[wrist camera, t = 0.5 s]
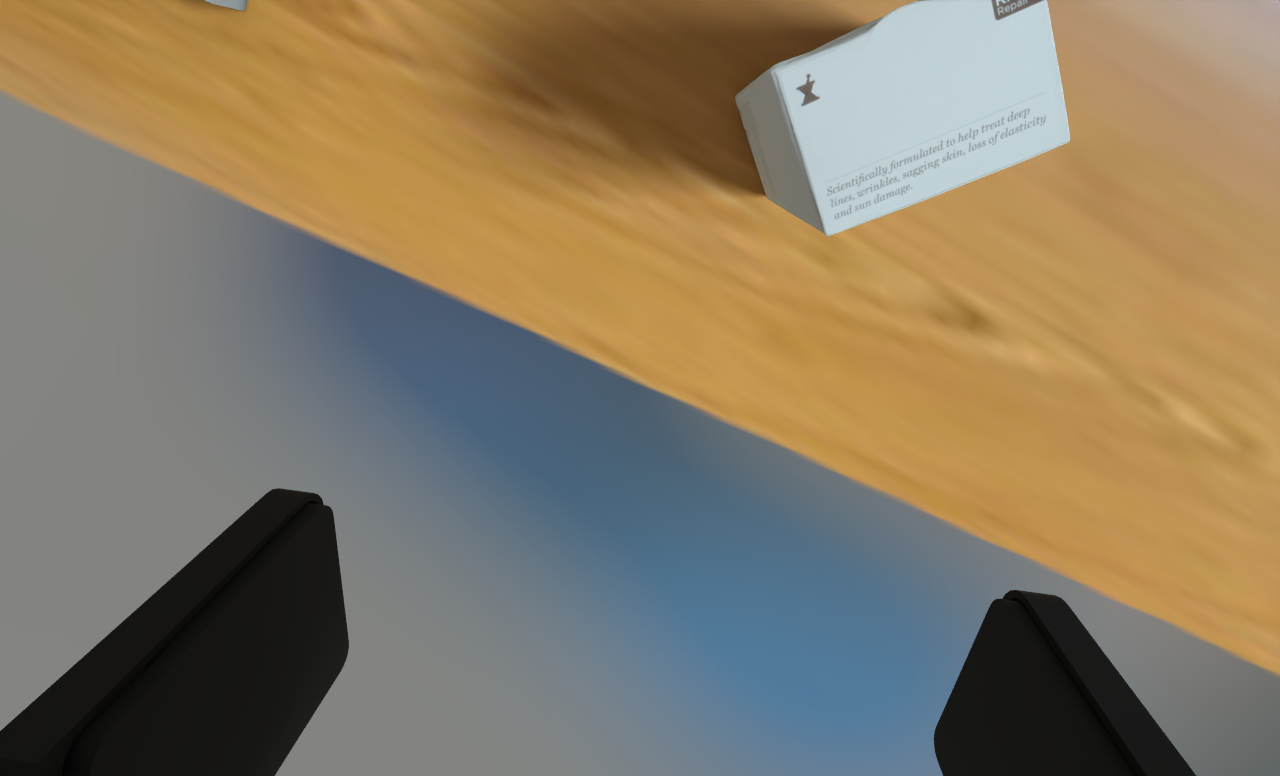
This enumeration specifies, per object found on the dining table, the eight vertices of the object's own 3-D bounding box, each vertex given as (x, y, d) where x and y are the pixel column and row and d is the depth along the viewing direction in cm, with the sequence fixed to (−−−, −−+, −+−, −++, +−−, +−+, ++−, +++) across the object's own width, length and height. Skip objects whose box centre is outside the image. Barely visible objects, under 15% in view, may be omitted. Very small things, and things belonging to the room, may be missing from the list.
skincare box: (766, 199, 35) (813, 254, 21) (730, 88, 33) (756, 70, 19) (920, 137, 33) (1080, 153, 19) (892, 15, 31) (1050, -63, 17)
